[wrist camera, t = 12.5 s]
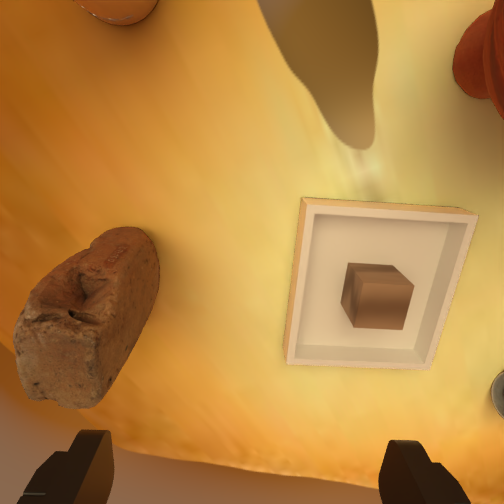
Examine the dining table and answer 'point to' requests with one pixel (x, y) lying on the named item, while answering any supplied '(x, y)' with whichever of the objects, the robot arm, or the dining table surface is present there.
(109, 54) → the dining table surface
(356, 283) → the cube
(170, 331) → the dining table surface
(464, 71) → the goblet
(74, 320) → the block
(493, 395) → the grey barrel
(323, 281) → the tray
